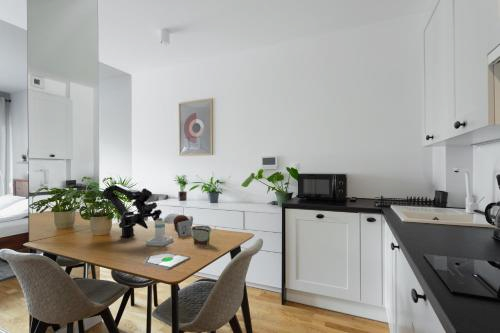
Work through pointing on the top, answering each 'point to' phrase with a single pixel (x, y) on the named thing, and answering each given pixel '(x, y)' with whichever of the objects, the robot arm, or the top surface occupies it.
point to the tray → (156, 243)
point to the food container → (201, 235)
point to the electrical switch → (184, 228)
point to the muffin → (179, 220)
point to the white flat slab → (165, 260)
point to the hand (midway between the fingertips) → (153, 226)
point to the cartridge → (160, 230)
